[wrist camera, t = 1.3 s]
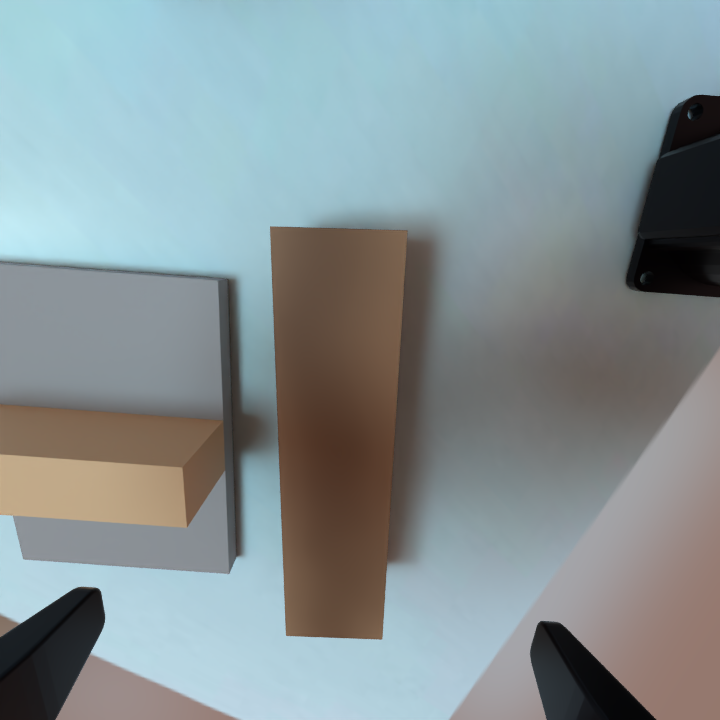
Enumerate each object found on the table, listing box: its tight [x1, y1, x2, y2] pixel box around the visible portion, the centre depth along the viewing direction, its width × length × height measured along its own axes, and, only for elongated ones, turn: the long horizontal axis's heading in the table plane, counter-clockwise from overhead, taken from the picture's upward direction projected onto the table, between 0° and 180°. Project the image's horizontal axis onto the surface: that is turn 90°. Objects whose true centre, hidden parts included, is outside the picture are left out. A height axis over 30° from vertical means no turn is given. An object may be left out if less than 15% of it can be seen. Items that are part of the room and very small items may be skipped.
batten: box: [270, 227, 407, 639], centre depth 15 cm, size 4×16×4 cm, turn 178°
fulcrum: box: [0, 262, 236, 574], centre depth 14 cm, size 10×14×4 cm
